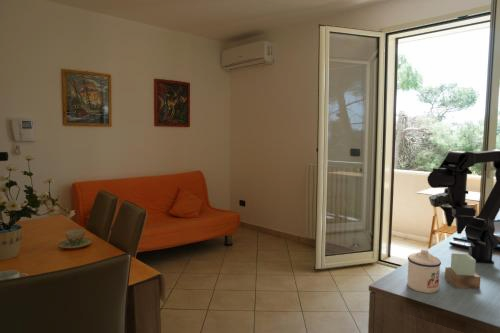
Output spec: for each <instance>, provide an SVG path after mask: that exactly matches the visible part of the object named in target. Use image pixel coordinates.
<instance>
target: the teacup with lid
mask: <svg viewBox="0 0 500 333" xmlns="http://www.w3.org/2000/svg"><path fill="white" fill-rule="evenodd" d="M407 260H408V264H407V265H408V266H407V282H406V284H407V286H408V288H410V289H412V290H414V291H417V292H420V293H425V294H426V293H427V294H433V293H436V292H438V291H439V286H440V285H439V284H440V272H441V270H440V268H441V265H442V262H441V259H439V258H438V257H437V256H434V255H433V254H431V253H429V250H427V249H421V250H420V252H415V253H410V254H409V255H408V256H407Z"/></svg>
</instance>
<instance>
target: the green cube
mask: <svg viewBox="0 0 500 333" xmlns="http://www.w3.org/2000/svg"><path fill="white" fill-rule="evenodd" d="M450 259H451V260H450V267H451V269H452V270H453V271H454V272H455V273H456V274H457V275H468V276H475V273H476V263H477V262H476V260H475V259H474V258H472V257H471V256H470V255H469V253H452V252H451V258H450Z"/></svg>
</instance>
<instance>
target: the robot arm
mask: <svg viewBox="0 0 500 333" xmlns="http://www.w3.org/2000/svg"><path fill="white" fill-rule="evenodd" d="M441 162H442V163H441V164H440V165H439V167H433V168H432V171H431V172H430V173H429V174H428V176H427V183H428V185H429V187H431V188H433V189H437V188H439V189H441V188H444V192H440V193H436V194H433V195H429V196H428V199H429V202H430V205H431V206H432V207H433V208H440V209H441V210H442V211H443V214H444V217H445V222H446V226H447V227H451V226H452V225H453V222H454V220H455V224H456V225H455V226H456V227H455V228H456V234H458V235H459V234H460V235H461V234H462V233H463V231H464V232H465V237H466V240H467V242H470V245H469V246H468V254H469V255H470V256H471V257H472V258H474V259H475V260H476V263H484V264H486V263H487V264H495V261H494V260H493V252H494V249H495V248H496V247H498V245H499V243H500V241H499V240H498V238H497V236H495V235H494V233H495V231H496V228H495V227H496V226H495V223H494V222H495V219H496V218H497V216H498V214H499V212H500V149H498V148H497V149H492V150H483V151H482V150H481V151H472V152H471V151H461V150H450V151H448V153H447V155H446V156H445V158H444V159H443V161H441ZM491 162H492V167H493V168H494V169H495V172H494V176H495V183H494V185H493V187H492V188H491V191H490V193H489V195H488V197H487V199H486V200H485V202H484V204H483V206H482V208H481V210H480V212H479V213H478V215H477V210H476V209H475V208H474V207H473V206H470V205H468V202H467V201H466V197H467V196H466V195H469V190H467V181H468V175H472V174H473V171H471V170H470V168H471V167H473V166H475V165H477V164H482V163H483V164H484V163H491Z"/></svg>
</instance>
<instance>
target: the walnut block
mask: <svg viewBox="0 0 500 333" xmlns="http://www.w3.org/2000/svg"><path fill="white" fill-rule="evenodd" d="M444 279H445V280H446V281H447V282H448V283H450V284H451V285H452V286H453V287H454V288H455V289H477V290H479V289H480V288H481V276H480V275H478V273H476V272H475V276H468V275H457V274H456V273H455V272H454V271H453V270H452V269H451V266H449V267H446V266H445V272H444Z"/></svg>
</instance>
